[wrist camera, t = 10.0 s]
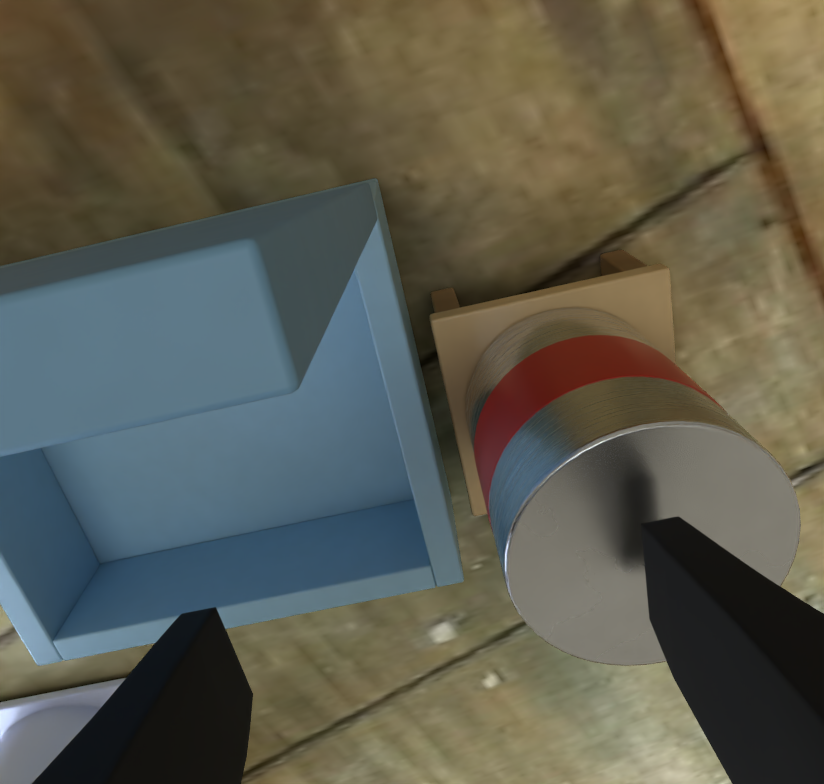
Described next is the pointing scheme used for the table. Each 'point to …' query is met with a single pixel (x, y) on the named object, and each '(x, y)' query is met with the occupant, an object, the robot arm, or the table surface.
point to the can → (610, 477)
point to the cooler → (240, 495)
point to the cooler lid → (174, 319)
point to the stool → (483, 323)
